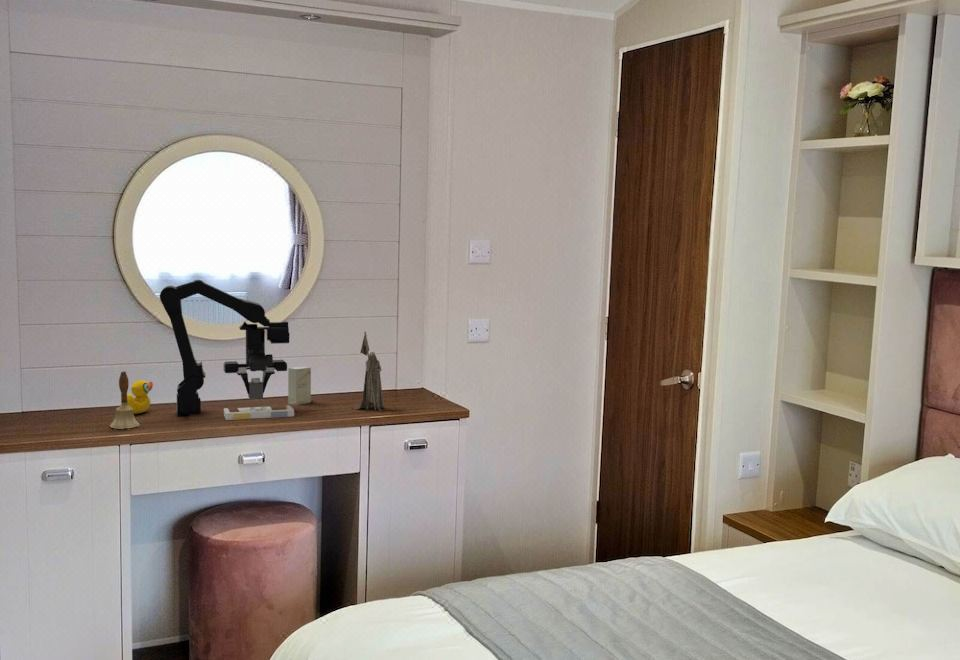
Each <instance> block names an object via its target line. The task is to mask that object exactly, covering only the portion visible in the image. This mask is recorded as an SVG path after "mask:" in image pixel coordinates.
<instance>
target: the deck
mask: <svg viewBox="0 0 960 660" xmlns="http://www.w3.org/2000/svg"><path fill="white" fill-rule="evenodd" d="M253 407H254V408H255V410H256V411H261V407H262V406H257V407H256V406H253ZM265 407H266V409H267V410H273V408H272V407H271V406H265ZM237 410H238V412H249V411H250V407H238V408H237Z"/></svg>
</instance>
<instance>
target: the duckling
mask: <svg viewBox="0 0 960 660" xmlns="http://www.w3.org/2000/svg"><path fill="white" fill-rule="evenodd" d="M153 386H154V383H153V382H152V381H149V382H148V381H146V380H143V379H142V380H141V379H139V380H136V381H135V382H133V383H132V386H131V388H130V390H131V391H130V392H131V393H132V394H131V393H127V401H128V402H127V403H128V406H130V407H132V408H133V414H134V415H138V414H139V415H140V414H143V413H145V412H146V411H147V410H148V408H149V407H150V405H151V398H150V397H149V396H148V394H149V392H150V391H152V389H153ZM134 396H135V397H134Z"/></svg>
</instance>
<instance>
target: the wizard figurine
mask: <svg viewBox="0 0 960 660" xmlns="http://www.w3.org/2000/svg"><path fill="white" fill-rule="evenodd" d="M367 336H368V335H367V331H364V335H363V339H362V342H361V343H362V344H361V348H360V351H359V353H360V354H363V355H365V356H366V357H367V360H366V361H365V373H364V374H365V375H364V382H363V390H362V391H363V392H362V399H361V403H360V405H359V406H356V407H354V408H357V407H358V409H357V410H361V408H362V409H365V410H369V409H374V410H375V411H377V409H378V411H380V412H381V411H382V409H384V408H386V407H385V406H384V399H383V389H382V380H381V371H382V367H381V362H380V361H379V360H378V358H377V356H376V353H375V352H374V351H371V352H370V346H369V342H368V338H367ZM369 352H370V353H369Z"/></svg>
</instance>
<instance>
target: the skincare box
mask: <svg viewBox="0 0 960 660" xmlns="http://www.w3.org/2000/svg"><path fill="white" fill-rule="evenodd" d="M311 368H312V367H310V366H304V365H300V366H294V367H287V371H288V372H287V373H288V374H287V375H288V376H287V377H288V379H287V382H288V389H287V391H288V392H287V393H288V394H287V396H288V397H287V399H288V400H287V403H288V405H295V406H301V405H305V404H309V403H311V402H312V379H311V378H312V377H311V376H312V375H311V374H312V369H311Z"/></svg>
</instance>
